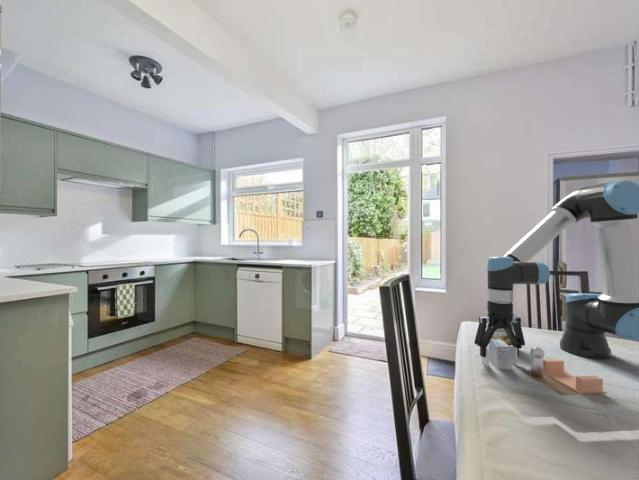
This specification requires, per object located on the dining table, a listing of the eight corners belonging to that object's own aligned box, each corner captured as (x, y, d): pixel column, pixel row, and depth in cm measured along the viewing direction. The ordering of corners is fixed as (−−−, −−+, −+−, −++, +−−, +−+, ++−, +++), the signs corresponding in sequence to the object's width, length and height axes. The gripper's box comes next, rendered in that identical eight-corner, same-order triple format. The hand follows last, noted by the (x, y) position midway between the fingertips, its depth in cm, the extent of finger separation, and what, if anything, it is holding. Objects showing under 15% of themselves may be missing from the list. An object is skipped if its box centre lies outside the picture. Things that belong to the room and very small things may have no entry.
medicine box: (511, 373, 96) (511, 347, 96) (496, 372, 97) (497, 346, 97) (501, 363, 104) (501, 339, 104) (488, 362, 105) (488, 338, 105)
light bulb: (537, 373, 94) (537, 345, 94) (547, 378, 90) (547, 349, 90) (527, 373, 93) (527, 345, 93) (536, 378, 90) (536, 349, 90)
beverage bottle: (514, 346, 120) (514, 298, 120) (514, 352, 113) (515, 301, 113) (490, 342, 125) (490, 295, 125) (489, 348, 118) (490, 299, 118)
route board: (559, 372, 96) (559, 369, 96) (607, 397, 81) (607, 393, 81) (519, 373, 96) (519, 370, 96) (560, 398, 81) (560, 394, 81)
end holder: (559, 370, 95) (559, 358, 95) (604, 393, 81) (604, 379, 81) (539, 371, 95) (539, 359, 95) (580, 394, 81) (581, 379, 81)
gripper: (521, 298, 105) (521, 360, 105) (463, 299, 103) (462, 361, 103) (538, 303, 97) (538, 369, 97) (475, 303, 96) (475, 371, 96)
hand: (499, 365), depth 100 cm, fingers open, 9 cm apart
